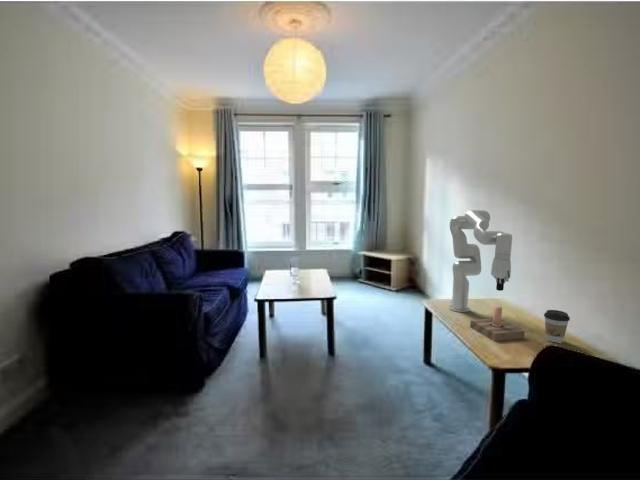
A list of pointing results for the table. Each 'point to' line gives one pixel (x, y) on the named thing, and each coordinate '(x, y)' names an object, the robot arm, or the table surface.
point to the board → (497, 330)
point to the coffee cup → (556, 325)
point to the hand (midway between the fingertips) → (499, 290)
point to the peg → (497, 316)
